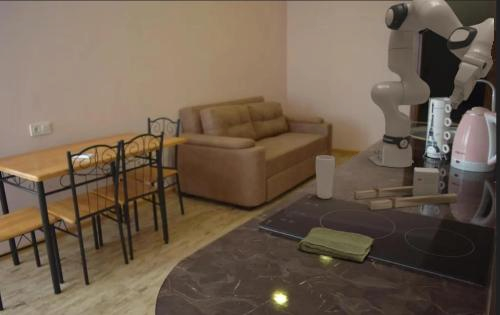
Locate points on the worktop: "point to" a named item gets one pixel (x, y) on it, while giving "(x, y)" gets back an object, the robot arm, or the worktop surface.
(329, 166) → the drinking glass
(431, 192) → the small box
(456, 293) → the worktop surface
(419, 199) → the wooden track
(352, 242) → the washcloth
